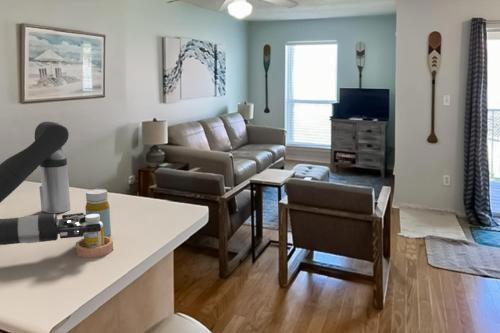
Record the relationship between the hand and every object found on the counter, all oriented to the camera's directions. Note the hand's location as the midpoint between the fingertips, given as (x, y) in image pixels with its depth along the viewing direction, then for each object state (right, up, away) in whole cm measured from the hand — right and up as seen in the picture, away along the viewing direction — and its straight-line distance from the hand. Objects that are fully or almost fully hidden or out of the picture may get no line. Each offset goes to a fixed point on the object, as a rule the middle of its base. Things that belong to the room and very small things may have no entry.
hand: (100, 222), depth 126 cm
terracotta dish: (-2, -8, +1) cm, 9 cm away
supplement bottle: (-2, -8, +1) cm, 8 cm away
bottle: (-4, -6, +11) cm, 13 cm away
